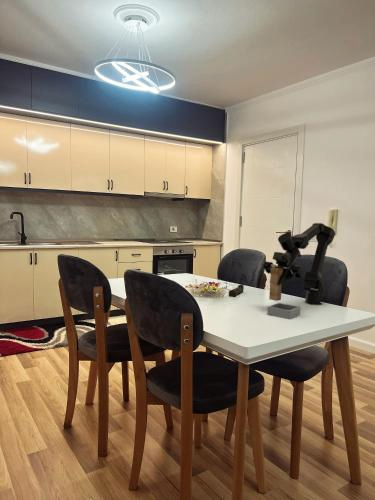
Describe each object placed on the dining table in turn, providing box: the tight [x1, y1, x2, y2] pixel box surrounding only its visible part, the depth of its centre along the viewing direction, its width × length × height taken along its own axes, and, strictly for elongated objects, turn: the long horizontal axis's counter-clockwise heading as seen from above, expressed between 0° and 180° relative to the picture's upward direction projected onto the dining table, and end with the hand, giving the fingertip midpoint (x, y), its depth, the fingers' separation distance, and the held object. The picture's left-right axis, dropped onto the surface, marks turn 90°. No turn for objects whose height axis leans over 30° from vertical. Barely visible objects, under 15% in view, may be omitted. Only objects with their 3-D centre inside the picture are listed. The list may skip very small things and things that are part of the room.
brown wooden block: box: [268, 267, 283, 302], centre depth 166 cm, size 4×4×14 cm
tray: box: [267, 302, 302, 320], centre depth 163 cm, size 10×10×4 cm
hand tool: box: [228, 283, 245, 298], centre depth 206 cm, size 19×4×5 cm, turn 151°
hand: (274, 283), depth 165 cm, fingers closed on brown wooden block, 4 cm apart
